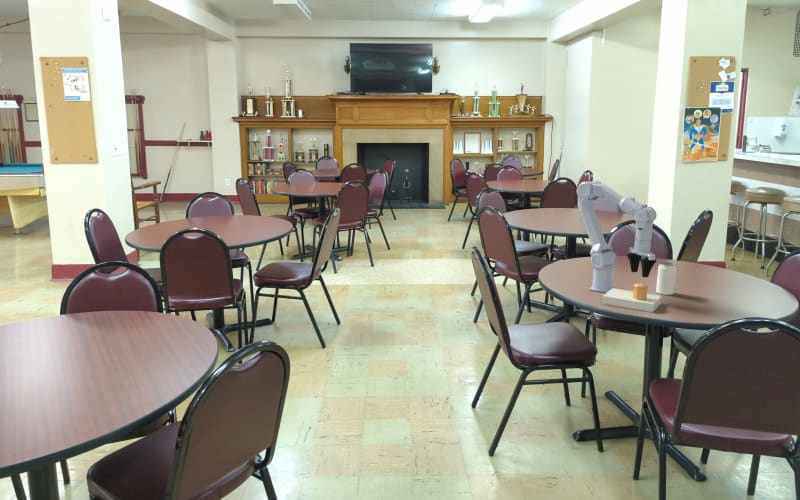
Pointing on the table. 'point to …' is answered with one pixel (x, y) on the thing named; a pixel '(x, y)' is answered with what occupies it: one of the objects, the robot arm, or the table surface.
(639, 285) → the cap
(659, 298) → the junction box
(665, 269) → the can
